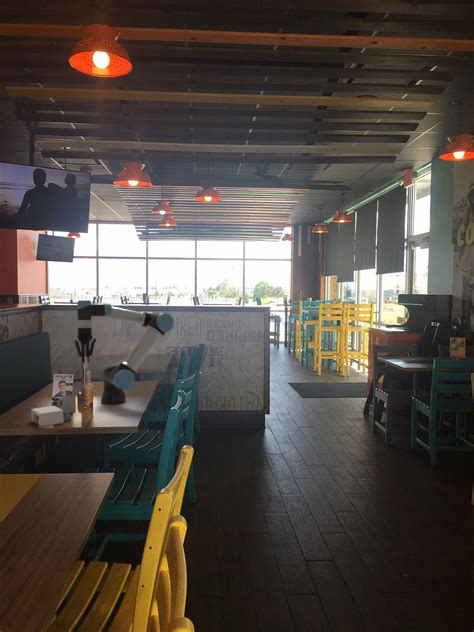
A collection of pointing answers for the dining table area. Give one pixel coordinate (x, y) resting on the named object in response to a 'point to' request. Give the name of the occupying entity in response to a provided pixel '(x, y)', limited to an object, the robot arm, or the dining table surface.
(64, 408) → the cup
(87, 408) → the dining table surface
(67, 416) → the grey storage tray
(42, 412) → the small white side table
